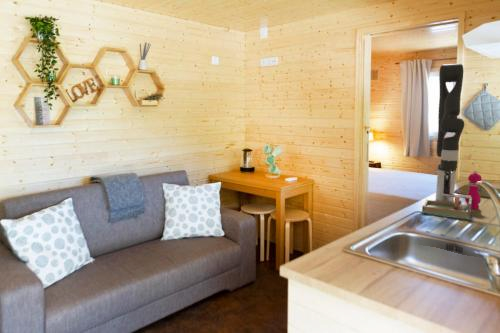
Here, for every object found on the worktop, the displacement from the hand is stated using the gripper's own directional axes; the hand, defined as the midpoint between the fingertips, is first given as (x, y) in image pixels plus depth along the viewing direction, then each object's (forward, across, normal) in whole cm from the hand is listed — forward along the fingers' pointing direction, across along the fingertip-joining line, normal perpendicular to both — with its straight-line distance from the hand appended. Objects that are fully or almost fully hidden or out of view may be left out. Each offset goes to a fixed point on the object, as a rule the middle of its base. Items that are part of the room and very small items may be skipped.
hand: (446, 193), depth 206 cm
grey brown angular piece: (+8, 0, +5) cm, 9 cm away
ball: (+6, 0, +8) cm, 10 cm away
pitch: (+10, 0, +1) cm, 10 cm away
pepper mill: (+10, -16, +12) cm, 22 cm away
